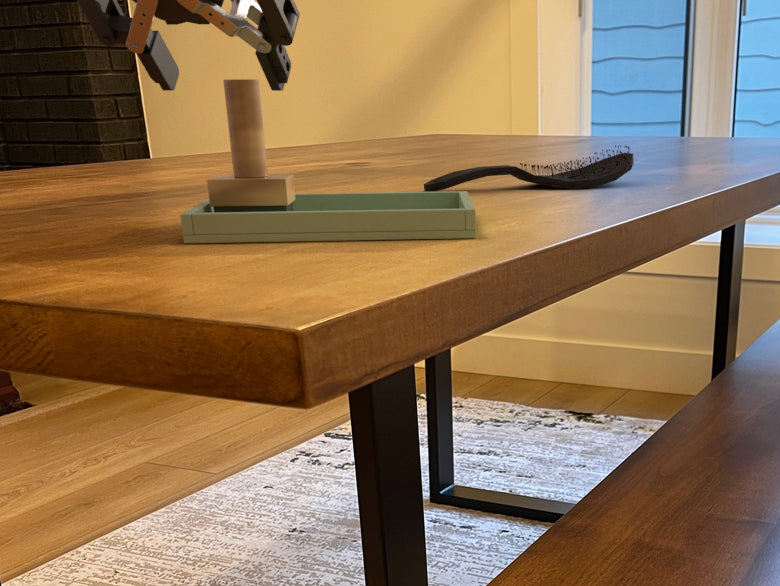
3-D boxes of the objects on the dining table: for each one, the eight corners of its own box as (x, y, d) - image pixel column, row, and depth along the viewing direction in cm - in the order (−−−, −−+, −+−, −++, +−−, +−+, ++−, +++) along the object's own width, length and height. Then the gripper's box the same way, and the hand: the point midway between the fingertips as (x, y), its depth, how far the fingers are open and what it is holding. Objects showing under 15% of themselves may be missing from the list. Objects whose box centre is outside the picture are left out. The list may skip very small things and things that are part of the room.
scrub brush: (212, 226, 78) (194, 79, 73) (223, 220, 81) (206, 79, 77) (290, 225, 78) (276, 79, 74) (297, 219, 82) (285, 79, 77)
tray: (183, 243, 74) (179, 214, 73) (217, 220, 86) (214, 194, 85) (476, 238, 75) (475, 209, 74) (467, 216, 88) (467, 191, 87)
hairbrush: (410, 162, 108) (611, 142, 117) (413, 197, 110) (611, 175, 119) (437, 167, 101) (649, 147, 110) (440, 205, 103) (648, 182, 112)
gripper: (248, -177, 59) (327, 43, 74) (29, -168, 61) (149, 44, 76) (220, -87, 56) (307, 123, 71) (-8, -81, 59) (123, 121, 74)
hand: (225, 82), depth 74 cm, fingers open, 8 cm apart
